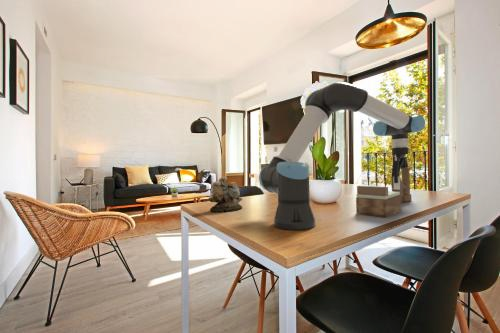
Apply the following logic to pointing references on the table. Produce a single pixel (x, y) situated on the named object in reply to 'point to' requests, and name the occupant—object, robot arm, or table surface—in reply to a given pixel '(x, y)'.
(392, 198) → the toolbox
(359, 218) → the table surface
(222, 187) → the owl figurine
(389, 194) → the lid
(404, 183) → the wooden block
